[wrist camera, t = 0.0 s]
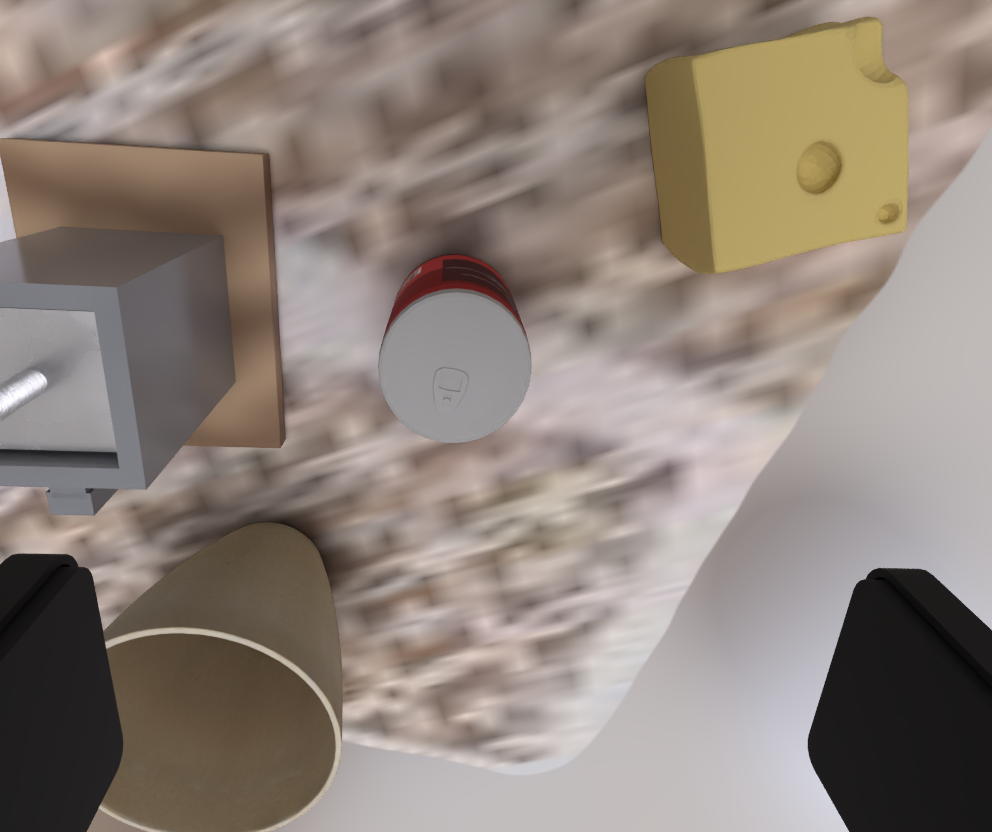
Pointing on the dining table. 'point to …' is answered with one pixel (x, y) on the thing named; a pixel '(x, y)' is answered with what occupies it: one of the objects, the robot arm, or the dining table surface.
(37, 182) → the board
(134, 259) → the grey boxy piece
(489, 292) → the canned food
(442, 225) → the dining table surface
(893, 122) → the cheese
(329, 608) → the plant pot
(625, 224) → the dining table surface
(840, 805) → the robot arm
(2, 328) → the plunger
